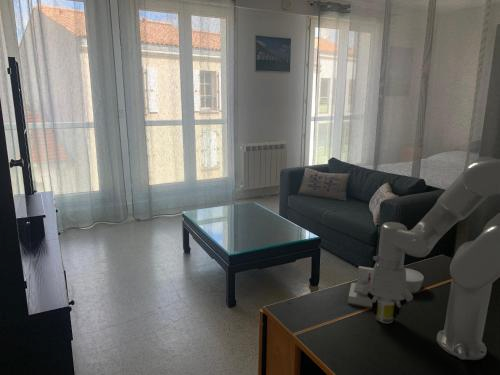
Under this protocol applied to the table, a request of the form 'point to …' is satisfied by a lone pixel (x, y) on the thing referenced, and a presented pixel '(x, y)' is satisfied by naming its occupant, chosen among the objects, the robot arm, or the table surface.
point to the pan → (360, 287)
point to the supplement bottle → (385, 310)
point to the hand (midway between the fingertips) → (384, 313)
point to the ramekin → (413, 280)
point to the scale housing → (358, 298)
